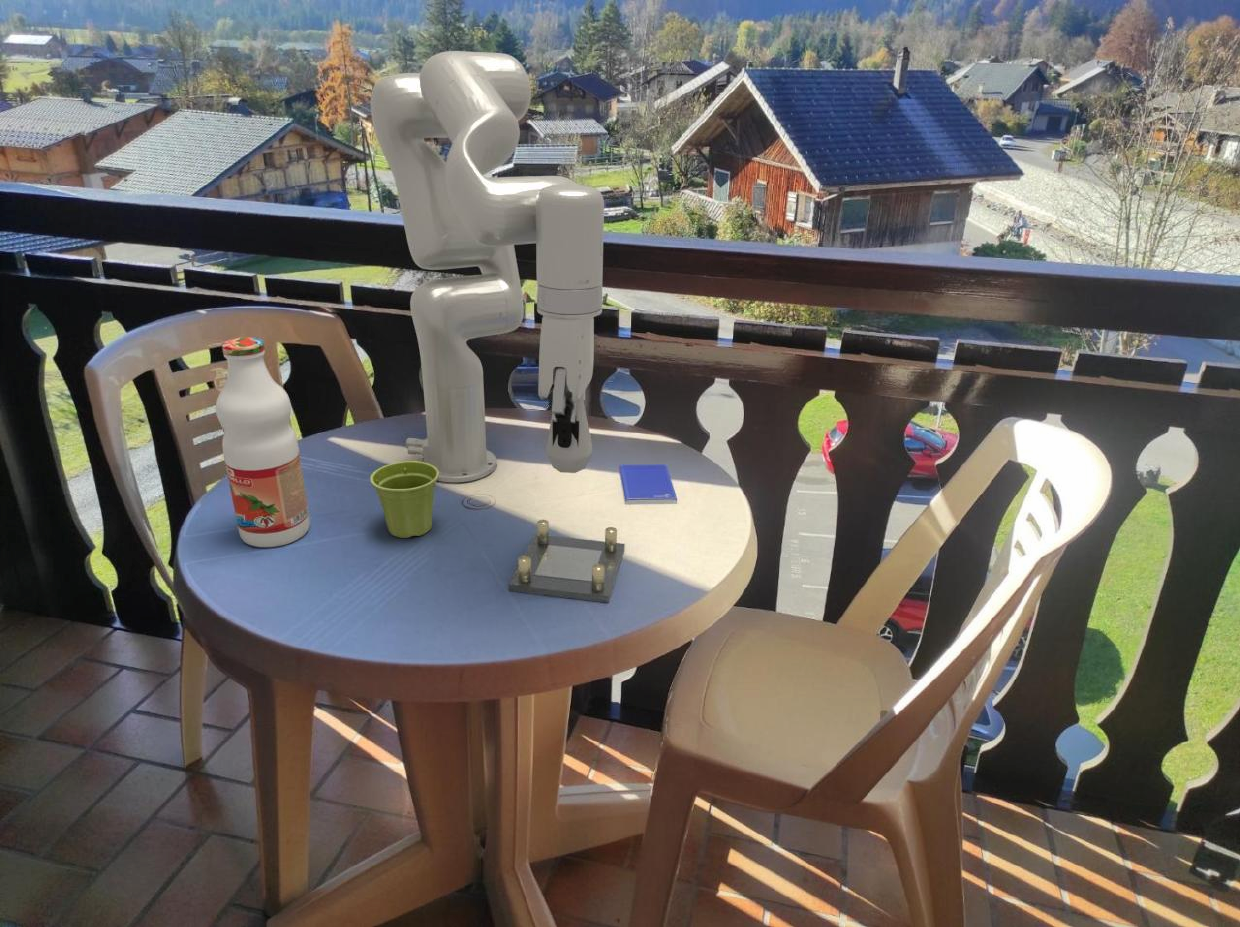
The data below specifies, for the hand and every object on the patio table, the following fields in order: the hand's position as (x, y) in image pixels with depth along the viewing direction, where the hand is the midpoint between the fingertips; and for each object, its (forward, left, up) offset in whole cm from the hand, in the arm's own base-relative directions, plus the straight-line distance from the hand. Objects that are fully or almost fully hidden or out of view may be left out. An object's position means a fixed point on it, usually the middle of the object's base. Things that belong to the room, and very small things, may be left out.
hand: (569, 443), depth 101 cm
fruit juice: (-43, +1, -19) cm, 47 cm away
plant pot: (-25, +6, -19) cm, 32 cm away
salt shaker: (0, 0, -3) cm, 3 cm away
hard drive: (+7, +27, -19) cm, 34 cm away
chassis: (0, 0, -19) cm, 19 cm away
